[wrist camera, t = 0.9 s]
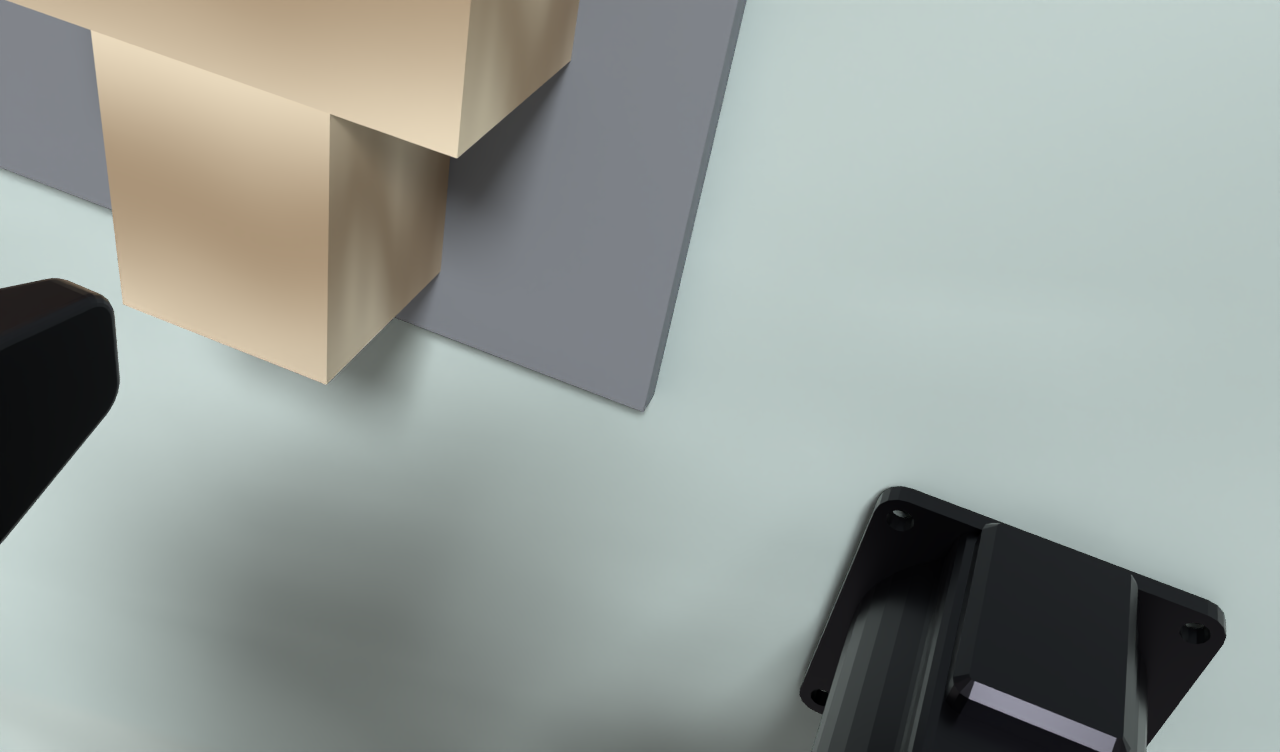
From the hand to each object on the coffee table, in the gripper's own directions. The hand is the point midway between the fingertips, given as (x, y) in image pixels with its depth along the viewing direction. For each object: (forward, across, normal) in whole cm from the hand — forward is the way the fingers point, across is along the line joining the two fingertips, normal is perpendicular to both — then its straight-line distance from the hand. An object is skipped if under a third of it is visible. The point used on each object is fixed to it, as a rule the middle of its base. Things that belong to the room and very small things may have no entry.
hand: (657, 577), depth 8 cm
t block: (+12, +9, +2) cm, 15 cm away
